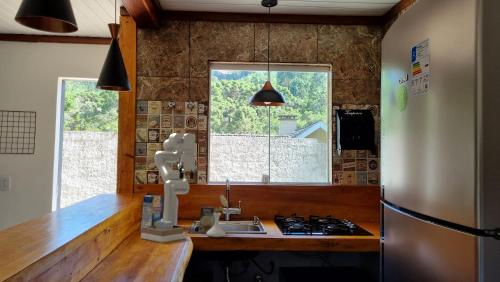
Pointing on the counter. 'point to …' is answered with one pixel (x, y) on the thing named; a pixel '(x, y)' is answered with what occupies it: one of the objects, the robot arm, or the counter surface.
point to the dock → (162, 234)
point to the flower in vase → (216, 230)
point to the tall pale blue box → (164, 225)
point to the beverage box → (151, 210)
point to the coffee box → (206, 219)
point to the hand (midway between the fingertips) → (186, 178)
